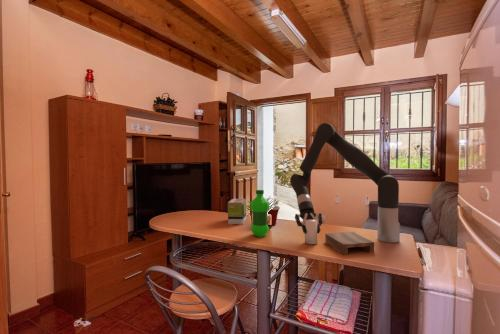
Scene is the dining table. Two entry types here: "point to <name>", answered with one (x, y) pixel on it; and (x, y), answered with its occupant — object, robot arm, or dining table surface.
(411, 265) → the dining table surface
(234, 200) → the tea box
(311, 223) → the beige upright block
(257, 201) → the plastic bottle
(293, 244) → the dining table surface
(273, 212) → the plastic cup
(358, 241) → the shelf
